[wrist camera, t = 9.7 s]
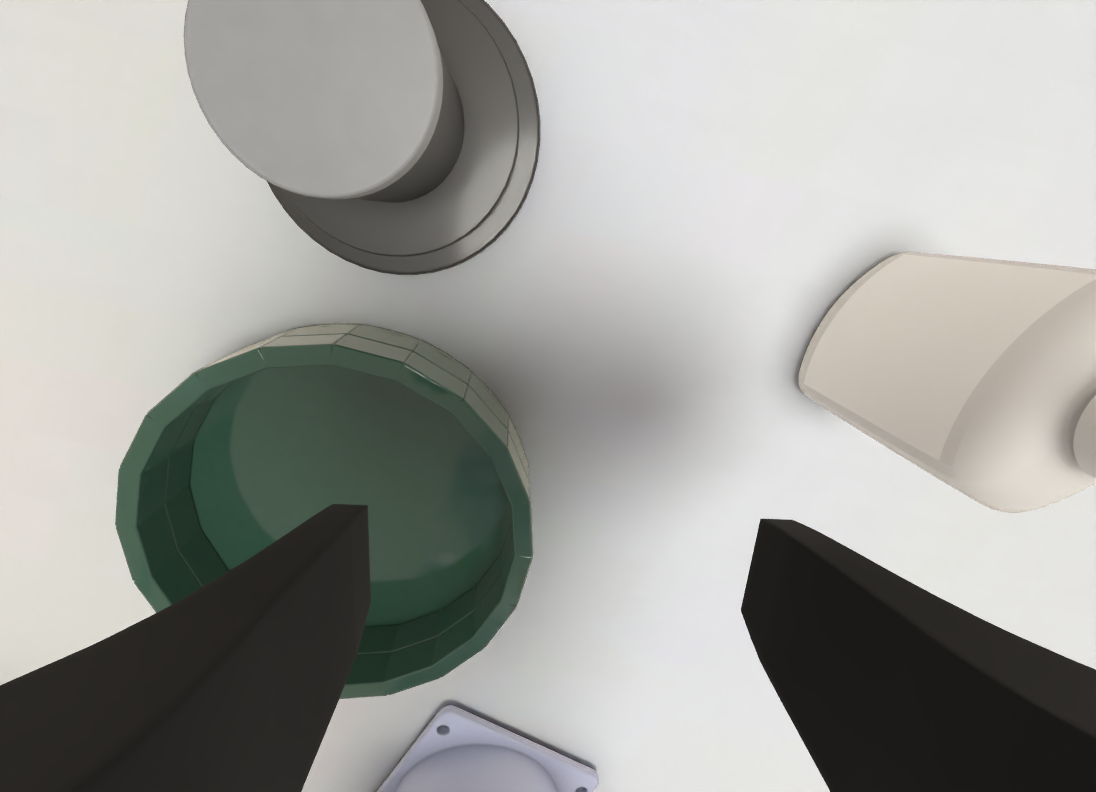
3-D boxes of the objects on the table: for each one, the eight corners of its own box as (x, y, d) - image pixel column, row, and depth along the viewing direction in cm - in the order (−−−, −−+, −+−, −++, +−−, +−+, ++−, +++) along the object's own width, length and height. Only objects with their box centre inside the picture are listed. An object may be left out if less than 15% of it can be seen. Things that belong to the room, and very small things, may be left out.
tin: (422, 676, 22) (407, 748, 19) (124, 539, 20) (53, 597, 17) (595, 444, 20) (610, 486, 17) (276, 247, 17) (224, 254, 14)
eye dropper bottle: (765, 319, 19) (1168, 484, 7) (922, 235, 18) (1632, 268, 7) (809, 423, 20) (1208, 703, 8) (957, 348, 19) (1597, 539, 8)
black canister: (416, 235, 15) (364, 245, 10) (277, 143, 14) (140, 100, 9) (496, 98, 14) (485, 30, 9) (353, -9, 13) (249, -155, 8)
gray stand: (450, 320, 18) (442, 333, 16) (215, 171, 16) (176, 165, 14) (591, 95, 16) (601, 79, 14) (344, -101, 14) (318, -149, 12)
